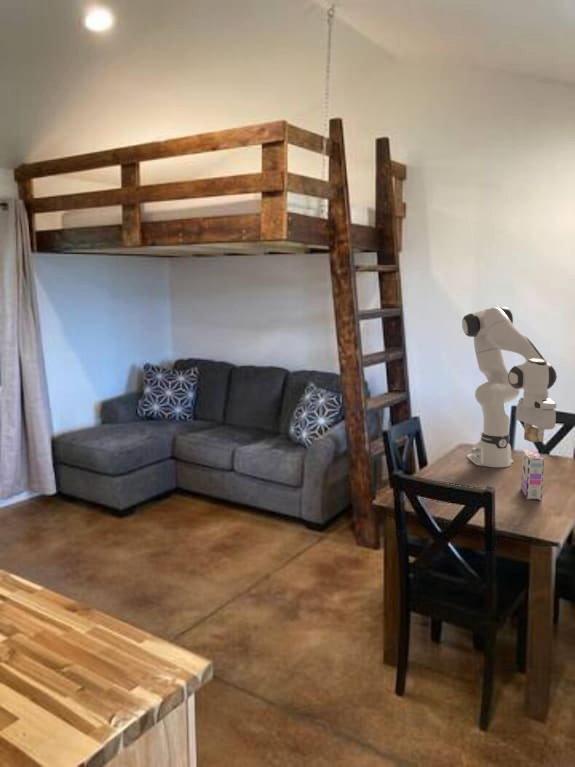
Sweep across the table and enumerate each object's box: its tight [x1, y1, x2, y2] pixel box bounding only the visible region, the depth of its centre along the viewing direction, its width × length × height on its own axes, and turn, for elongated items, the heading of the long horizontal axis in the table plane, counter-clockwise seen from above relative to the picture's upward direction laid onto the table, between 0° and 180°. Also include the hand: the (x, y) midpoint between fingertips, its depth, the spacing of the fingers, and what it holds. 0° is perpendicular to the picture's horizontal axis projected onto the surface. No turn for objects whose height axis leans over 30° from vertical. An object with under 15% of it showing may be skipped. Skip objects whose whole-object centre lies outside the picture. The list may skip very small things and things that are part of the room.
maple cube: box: [523, 425, 545, 443], centre depth 242 cm, size 5×5×5 cm
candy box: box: [520, 449, 545, 501], centre depth 244 cm, size 14×6×16 cm, turn 168°
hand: (533, 436), depth 242 cm, fingers closed on maple cube, 5 cm apart
